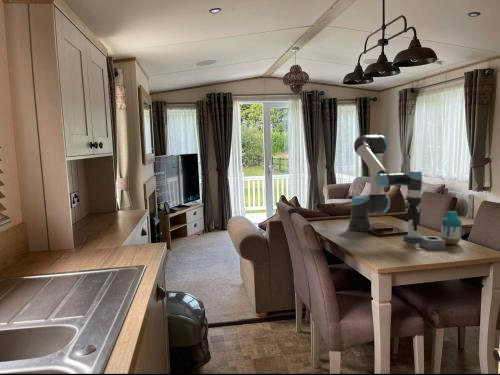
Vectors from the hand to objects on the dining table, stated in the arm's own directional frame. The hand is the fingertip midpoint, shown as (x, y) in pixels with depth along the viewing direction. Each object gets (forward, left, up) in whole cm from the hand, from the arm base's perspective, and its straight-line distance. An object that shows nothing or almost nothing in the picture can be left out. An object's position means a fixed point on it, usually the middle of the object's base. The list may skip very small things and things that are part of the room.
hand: (412, 235), depth 235 cm
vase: (+8, +19, -4) cm, 21 cm away
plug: (0, 0, -4) cm, 4 cm away
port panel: (+14, +5, -4) cm, 15 cm away
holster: (0, 0, -4) cm, 4 cm away
